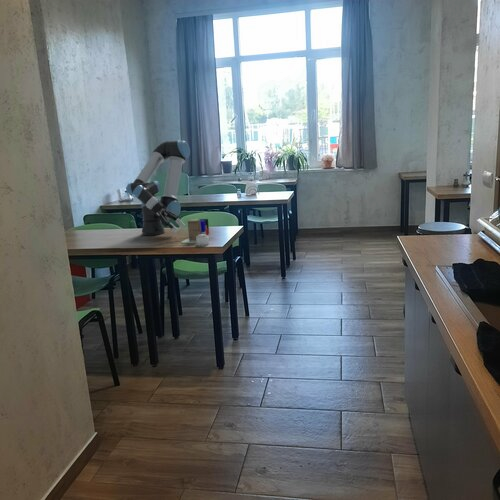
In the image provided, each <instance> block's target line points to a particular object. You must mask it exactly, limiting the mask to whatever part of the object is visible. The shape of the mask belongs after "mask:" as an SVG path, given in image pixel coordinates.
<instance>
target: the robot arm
mask: <svg viewBox="0 0 500 500" xmlns="http://www.w3.org/2000/svg"><path fill="white" fill-rule="evenodd" d="M190 156H191V148H190V145H189V144H188V142H187V141H185V140H179V139H178V140H170V141H167V140H166V141H164V142H162V143H160V144H159V145H157V146H156V147H155V149H153V151H152V152H151V154H150V158H149V159H148V161H147V162H146V163H145V165H144V167H142V169H141V170H140V171H139V174H138V175H137V176H136V178H135V179H134V181H133V182H130V183H127V186H126V192H127V193H128V194H129V195H130V196H131V195H132V196H135V197H136V199H138V200H139V201H140V202H141V213H142V220H143V221H142V222H143V223H142V230H141V235H142V236H158V235H163V234H165V232H166V231H165V228H166V227H168V228H169V229H170V230H172V232H173V233H174V234H176V233H177V232H179V229H178V227H176V226H175V225H174V224H173V223H172V222H171V221H170V220H173V221H174V222H175V223H176V224H178V225H177V226H179V227H180V228H181V229H184V228H185V226H186V224H185V223H184V222H183V221H182V220H181V219H180V218H179V215H180V213H181V208H182V207H181V203H180V202H179V199H178V198H177V196H178V191H179V186H180V181H181V180H180V179H181V173H182V167H183V165H184V164H185V163H186V159H188V158H189V157H190ZM166 160H168V161H169V164H168V169H167V174H166V179H165V185H164V191H163V195H162V196H160V200H159V198H156V197H155V195H156V194H158V193H159V192H160V191H161V190H162V184H161V183H160V182H159V181H158V180H151V178H152V177H153V175H154V174H155V173H156V171H157V170H158V168H159V167H160V165H161V164H163V163H164V162H165V161H166ZM150 180H151V182H150ZM164 227H165V228H164Z"/></svg>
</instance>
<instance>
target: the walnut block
mask: <svg viewBox="0 0 500 500" xmlns="http://www.w3.org/2000/svg"><path fill="white" fill-rule="evenodd" d="M194 219H195V220H193V219H189V220H187V228H188V229H187V230H188V231H187V232H188V238H189V241H196V236H198V235H200V234H201V222H200V219H201V218H194Z"/></svg>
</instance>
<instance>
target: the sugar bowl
mask: <svg viewBox="0 0 500 500" xmlns="http://www.w3.org/2000/svg"><path fill="white" fill-rule="evenodd" d="M208 237H209V234H208V235H206V234H200V235H198V236H196V242H197V243H196V246H197V247H204V246H205V245H206V246H208V244H210V243H209V239H208Z"/></svg>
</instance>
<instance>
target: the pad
mask: <svg viewBox="0 0 500 500" xmlns="http://www.w3.org/2000/svg"><path fill="white" fill-rule="evenodd" d="M210 239H211V237H209V236H208V240H210ZM180 243H181V244H197V242H196V241H189V237H187V238H186V239H184V240H182V241H181V242H180Z"/></svg>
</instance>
